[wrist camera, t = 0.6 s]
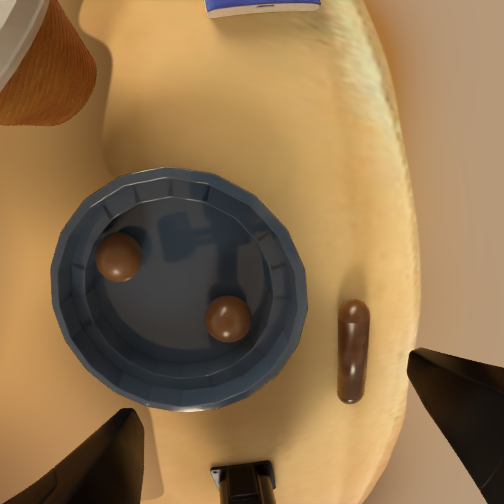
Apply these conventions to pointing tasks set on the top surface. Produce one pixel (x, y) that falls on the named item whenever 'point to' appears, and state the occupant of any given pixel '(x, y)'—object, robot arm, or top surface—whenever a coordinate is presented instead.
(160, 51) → the top surface
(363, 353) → the stick
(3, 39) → the disposable coffee cup
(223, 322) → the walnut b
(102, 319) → the bowl
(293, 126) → the top surface
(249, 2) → the hard drive
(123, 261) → the glossy brown ball
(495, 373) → the robot arm
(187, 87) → the top surface
